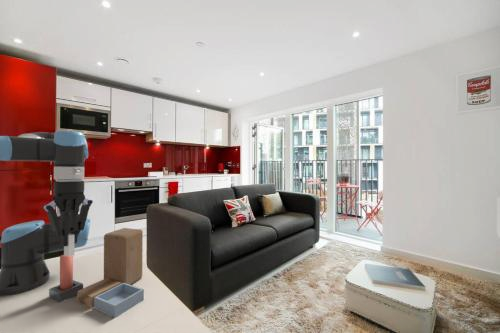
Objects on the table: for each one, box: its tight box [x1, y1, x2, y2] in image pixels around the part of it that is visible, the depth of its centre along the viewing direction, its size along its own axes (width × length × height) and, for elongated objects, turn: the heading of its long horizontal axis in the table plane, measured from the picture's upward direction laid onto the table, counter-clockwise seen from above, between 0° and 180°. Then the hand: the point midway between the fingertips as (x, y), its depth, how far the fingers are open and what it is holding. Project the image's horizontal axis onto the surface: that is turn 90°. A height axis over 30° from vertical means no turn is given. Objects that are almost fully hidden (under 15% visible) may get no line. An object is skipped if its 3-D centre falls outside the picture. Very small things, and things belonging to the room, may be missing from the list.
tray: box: [94, 283, 145, 318], centre depth 75 cm, size 10×10×4 cm
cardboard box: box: [76, 278, 121, 309], centre depth 79 cm, size 8×10×4 cm
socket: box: [48, 279, 84, 304], centre depth 80 cm, size 7×7×3 cm
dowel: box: [59, 254, 74, 291], centre depth 80 cm, size 4×4×14 cm
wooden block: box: [103, 227, 144, 285], centre depth 89 cm, size 10×10×20 cm
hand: (69, 254), depth 71 cm, fingers closed
